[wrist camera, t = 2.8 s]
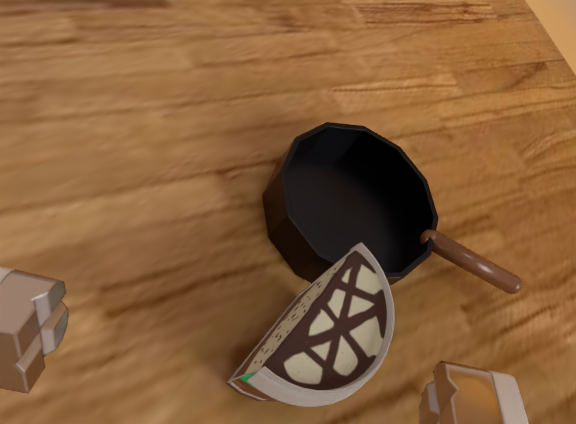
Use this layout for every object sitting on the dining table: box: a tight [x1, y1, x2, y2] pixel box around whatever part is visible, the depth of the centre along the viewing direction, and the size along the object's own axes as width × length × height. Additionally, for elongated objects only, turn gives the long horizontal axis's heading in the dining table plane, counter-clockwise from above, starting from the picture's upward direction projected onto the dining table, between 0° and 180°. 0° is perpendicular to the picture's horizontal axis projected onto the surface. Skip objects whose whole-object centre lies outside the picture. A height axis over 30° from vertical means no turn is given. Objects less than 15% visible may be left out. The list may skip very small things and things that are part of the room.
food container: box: [227, 242, 394, 407], centre depth 36 cm, size 12×6×10 cm, turn 141°
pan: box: [262, 122, 522, 294], centre depth 47 cm, size 25×15×5 cm, turn 69°
